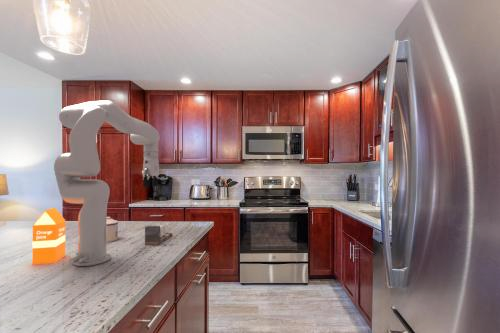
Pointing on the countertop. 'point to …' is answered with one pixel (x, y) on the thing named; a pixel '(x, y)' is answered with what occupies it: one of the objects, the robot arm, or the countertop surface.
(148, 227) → the gauge base
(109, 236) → the teacup with lid
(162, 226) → the gauge slider
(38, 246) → the orange juice
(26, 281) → the countertop surface
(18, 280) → the countertop surface
